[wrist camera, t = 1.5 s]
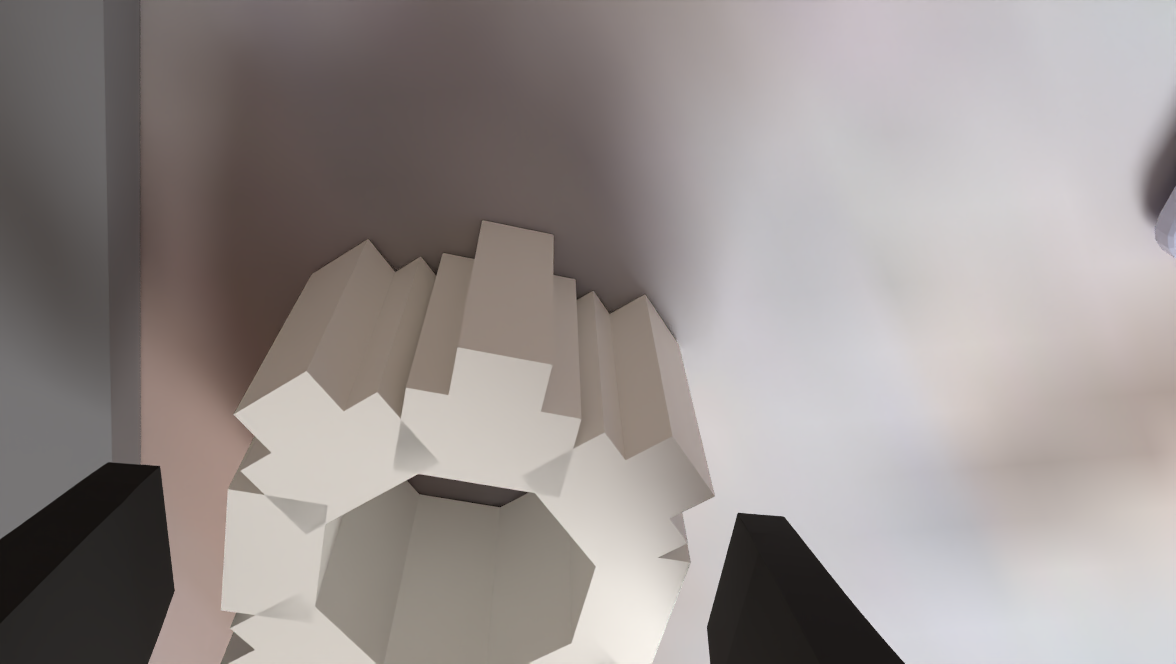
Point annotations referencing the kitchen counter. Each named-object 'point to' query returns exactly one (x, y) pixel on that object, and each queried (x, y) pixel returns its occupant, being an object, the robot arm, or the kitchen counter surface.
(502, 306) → the loose gear
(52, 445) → the gear board
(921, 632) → the kitchen counter surface
